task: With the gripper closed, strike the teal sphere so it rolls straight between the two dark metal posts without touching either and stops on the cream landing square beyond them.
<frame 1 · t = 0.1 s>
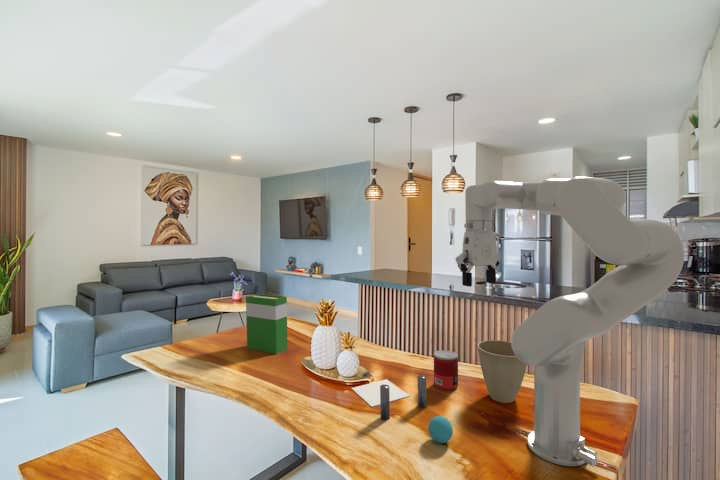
hand: (479, 284, 103), 37 cm above the table, tool pointing down, fingers open, 9 cm apart
green cereal box: (267, 349, 158), on the table
canned food: (445, 386, 118), on the table
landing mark: (379, 392, 114), on the table
left post: (385, 417, 98), on the table
teal sphere: (440, 429, 87), on the table
plant pot: (502, 398, 109), on the table
right post: (422, 406, 104), on the table
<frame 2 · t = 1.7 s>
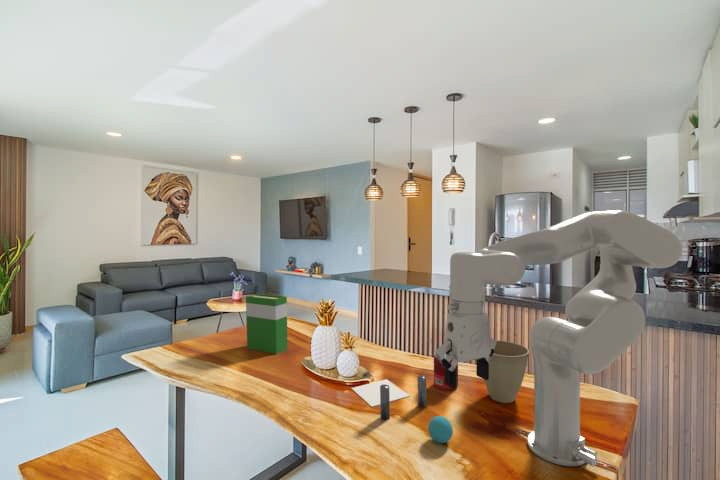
hand: (466, 382, 78), 19 cm above the table, tool pointing down, fingers open, 9 cm apart
nothing on the table moved.
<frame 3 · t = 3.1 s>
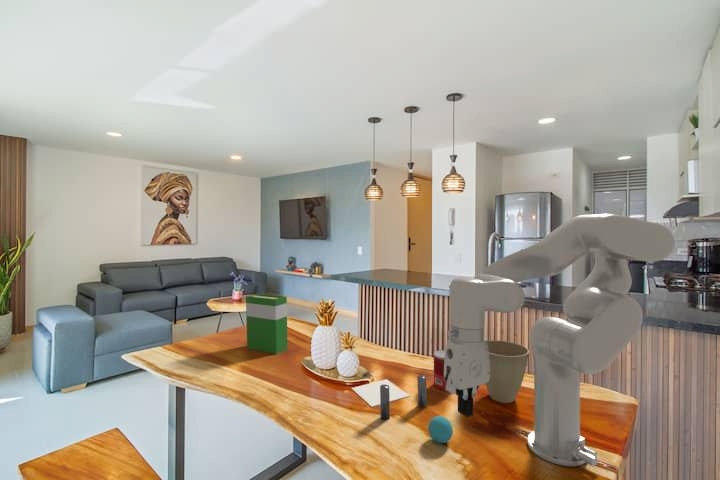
hand: (465, 413, 78), 12 cm above the table, tool pointing down, fingers closed
nothing on the table moved.
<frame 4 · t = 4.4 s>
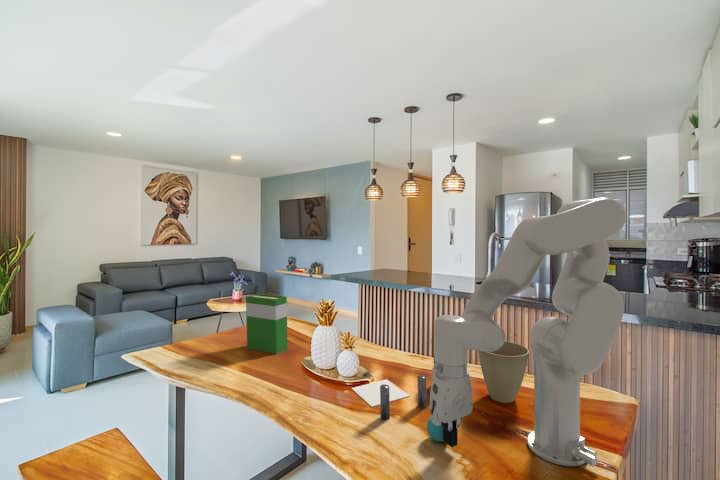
hand: (450, 443, 83), 2 cm above the table, tool pointing down, fingers closed
teal sphere: (438, 428, 88), on the table
everything else where it was.
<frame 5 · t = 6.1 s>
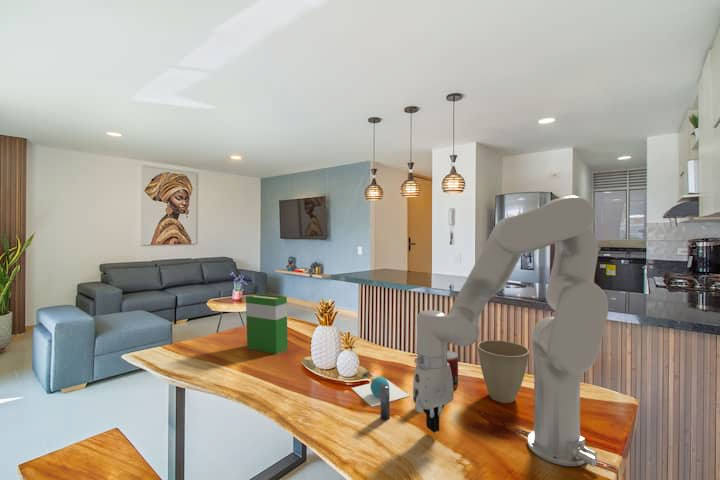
hand: (432, 429, 90), 2 cm above the table, tool pointing down, fingers closed
teal sphere: (379, 386, 111), on the table
everything else where it was.
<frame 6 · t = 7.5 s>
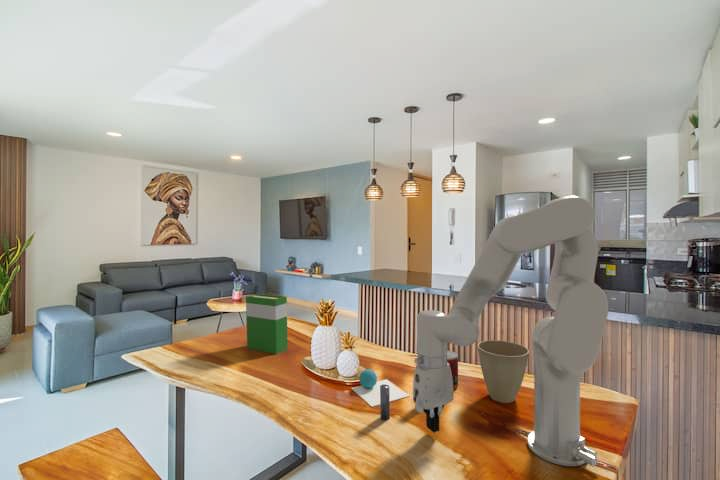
hand: (432, 429, 90), 2 cm above the table, tool pointing down, fingers closed
teal sphere: (368, 378, 117), on the table
everything else where it was.
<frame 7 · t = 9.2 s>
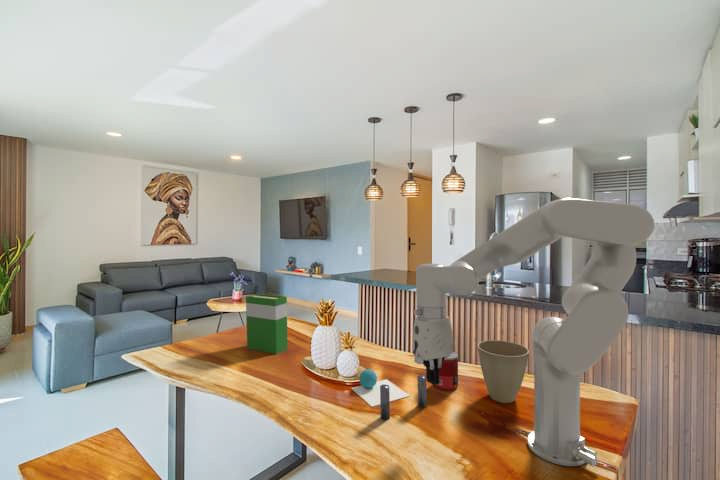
hand: (432, 382, 89), 14 cm above the table, tool pointing down, fingers closed
nothing on the table moved.
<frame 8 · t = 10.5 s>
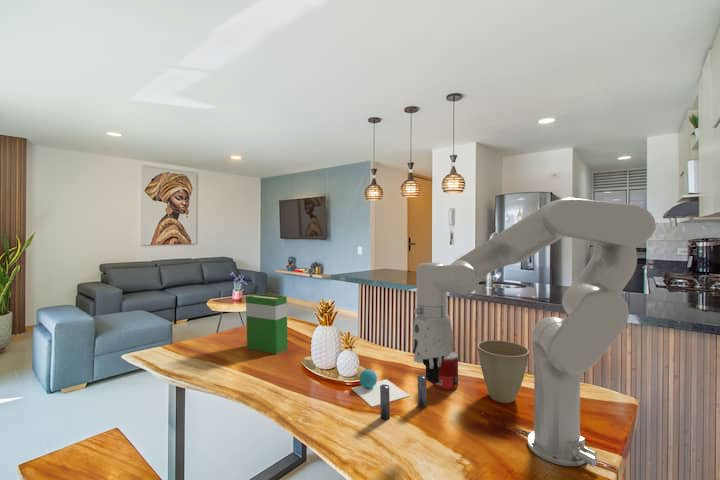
hand: (432, 381, 89), 14 cm above the table, tool pointing down, fingers closed
nothing on the table moved.
at the end: teal sphere 5.2 cm from the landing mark (horizontally); teal sphere never touched left post; teal sphere never touched right post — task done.
